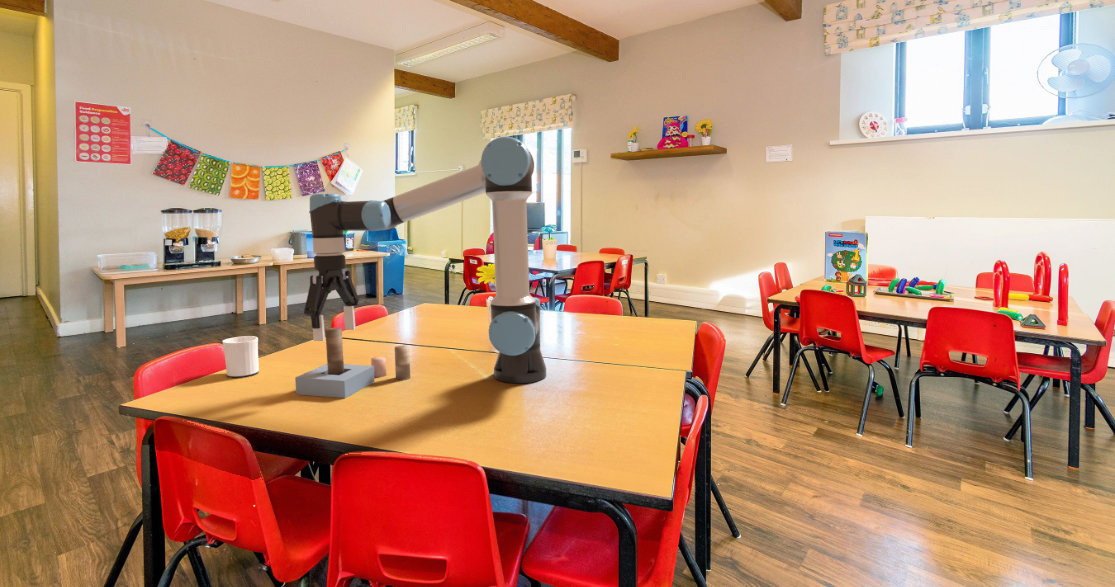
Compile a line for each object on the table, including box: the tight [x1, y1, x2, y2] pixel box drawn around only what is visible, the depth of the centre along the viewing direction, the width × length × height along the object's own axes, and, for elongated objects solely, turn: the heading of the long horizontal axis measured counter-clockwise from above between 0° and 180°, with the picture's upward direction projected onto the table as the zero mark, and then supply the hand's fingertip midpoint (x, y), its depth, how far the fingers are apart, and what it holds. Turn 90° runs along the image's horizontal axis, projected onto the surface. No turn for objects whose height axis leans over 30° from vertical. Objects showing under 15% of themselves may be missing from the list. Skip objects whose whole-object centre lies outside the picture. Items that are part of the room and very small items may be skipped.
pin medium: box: [394, 345, 411, 381], centre depth 154 cm, size 4×4×9 cm
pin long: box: [324, 327, 345, 375], centre depth 144 cm, size 4×4×16 cm
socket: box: [294, 363, 375, 399], centre depth 145 cm, size 14×14×4 cm
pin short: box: [370, 356, 387, 378], centre depth 157 cm, size 4×4×5 cm
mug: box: [222, 335, 260, 379], centre depth 157 cm, size 11×9×10 cm
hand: (335, 335), depth 143 cm, fingers open, 13 cm apart
